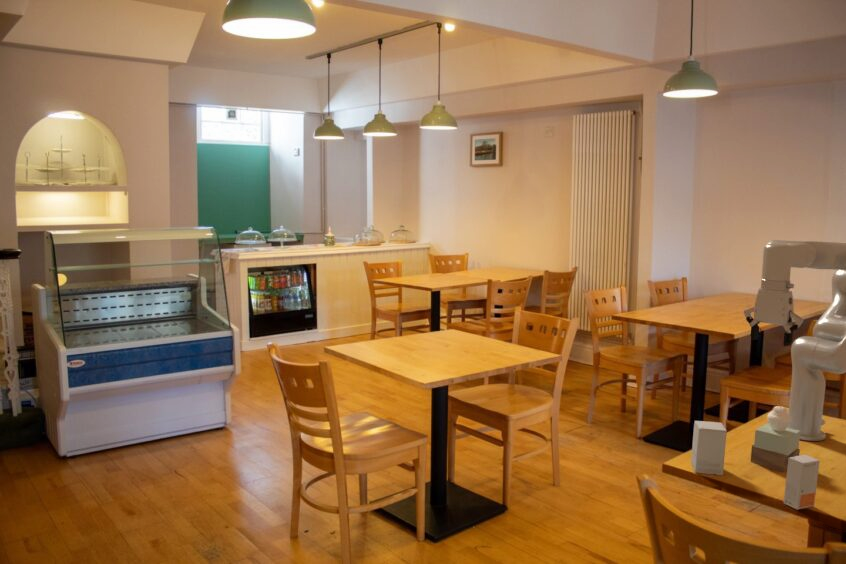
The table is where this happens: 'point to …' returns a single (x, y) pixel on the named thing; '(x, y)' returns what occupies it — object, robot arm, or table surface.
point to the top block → (777, 439)
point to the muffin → (779, 419)
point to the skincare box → (801, 482)
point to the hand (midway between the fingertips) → (770, 342)
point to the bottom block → (771, 458)
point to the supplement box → (708, 447)
